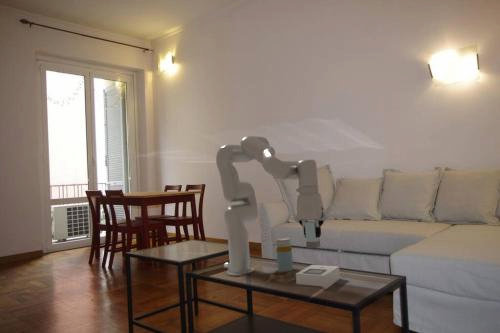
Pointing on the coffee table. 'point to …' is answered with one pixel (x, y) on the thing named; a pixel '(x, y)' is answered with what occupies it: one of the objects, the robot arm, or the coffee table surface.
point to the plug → (311, 235)
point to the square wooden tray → (280, 277)
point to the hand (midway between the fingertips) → (312, 236)
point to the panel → (318, 276)
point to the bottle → (284, 255)
